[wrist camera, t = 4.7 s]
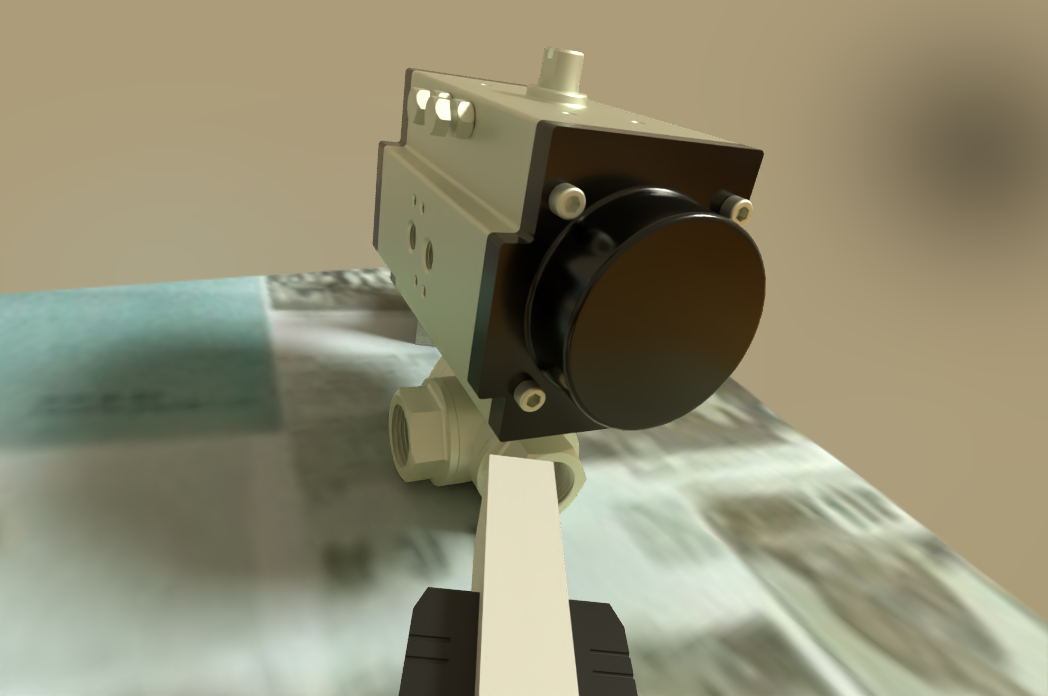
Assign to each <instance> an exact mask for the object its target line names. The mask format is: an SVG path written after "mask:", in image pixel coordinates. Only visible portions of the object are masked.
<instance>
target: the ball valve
mask: <svg viewBox="0 0 1048 696" xmlns="http://www.w3.org/2000/svg"><path fill="white" fill-rule="evenodd" d="M583 60H584V55H583V53H581V52H576V51H569V50H564V49H559V48H553V47H546V48H545V50H544V56H543V62H542V68H541V74H540V78H539V81H538V85H535V84H530V85H528V86H527V85H521V84H514V83H507V82H501V81H493V80H486V79H480V78H474V77H467V76H460V75H453V74H447V73H440V72H433V71H426V70H420V69H413V68H408V69H407V70H406V75H405V89H404V101H403V115H402V128H401V140H400V142H388V141H381V142H380V143H379V149H378V165H377V181H376V198H375V216H374V232H373V246H374V248H375V249H376V250H377V252H378V253H379V255H380V256H381V258H382V259H383V261H384V262H385V263H386V264H387V266H388V268H389V269H390V271H391V277H390V278H391V280H392V282H393V283H394V285H395V286H396V288H397V289H398V291H399V292H400V294H401V295H402V297H403V298H404V300H405V301H406V303H407V304H408V306H409V307H410V309H411V310H412V311H413V313H414V314H415V316H416V317H417V319H418V320H419V322H420V323H421V325H422V326H423V328H424V329H425V331H426V332H427V334H428V335H429V337H430V338H431V340H432V341H433V343H434V344H435V346H436V347H437V349H438V350H439V352H440V353H441V355H442V357H441V358H440V360H439V361H438V362H437V364H436V365H435V367H434V369H433V370H432V372H431V374H430V376H429V378H426V379H425V380H424V381H423V383H422V385H421V386H418V387H406V388H399V389H398V391H397V392H396V393H395V394H394V396H393V398H392V400H391V404H390V409H389V439H390V446H391V452H392V457H393V461H394V464H395V467H396V469H397V471H398V473H399V475H400V476H401V477H402V479H403V480H404V481H405V482H412V481H418V480H425V479H430V480H431V482H432V483H433V484H434V485H436V486H444V485H450V484H457V483H463V482H469V481H473V483H474V484H475V486H476V488H477V490H478V492H479V493H480V495H481V497H482V496H483V490H484V484H485V479H486V473H487V467H488V461H489V455H490V454H492V455H500V456H508V457H517V458H525V459H533V460H542V461H550V462H554V472H555V481H556V490H557V499H558V508H559V514H560V513H561V512H562V511H564V510H565V509H566V508H567V507H568V506H569V505H570V504H571V502H572V501H573V500H574V499H575V497H576V496H577V495H578V493H579V491H580V490H581V488H582V486H583V485H584V483H585V481H586V476H585V473H584V470H583V467H582V465H581V462H580V460H579V458H578V456H579V442H578V439H577V436H576V434H575V433H577V432H584V431H592V430H599V429H607V428H612V429H617V430H622V431H638V430H646V429H651V428H655V427H658V426H662V425H664V424H667V423H670V422H672V421H674V420H676V419H678V418H680V417H682V416H684V415H686V414H687V413H689V412H691V411H692V410H694V409H695V408H696V407H698V406H699V405H701V404H702V403H703V402H704V401H706V400H707V399H708V398H709V397H710V396H712V395H713V394H714V393H715V392H716V391H717V390H718V389H719V388H720V387H721V386H722V385H723V384H724V382H725V381H726V380H727V379H728V378H729V377H730V375H731V374H732V373H733V372H734V370H735V369H736V367H737V366H738V365H739V363H740V362H741V360H742V359H743V357H744V355H745V354H746V352H747V350H748V348H749V347H750V344H751V342H752V340H753V338H754V336H755V333H756V331H757V328H758V325H759V322H760V318H761V315H762V312H763V306H764V300H765V286H766V277H765V269H764V264H763V260H762V257H761V254H760V252H759V249H758V247H757V245H756V243H755V242H754V240H753V239H752V237H751V236H750V235H749V233H748V232H746V230H744V229H743V228H742V226H744V225H745V224H746V223H747V222H748V221H749V220H750V218H751V216H752V212H753V206H752V204H751V202H750V201H749V199H750V196H751V193H752V190H753V187H754V184H755V181H756V178H757V174H758V171H759V168H760V165H761V162H762V159H763V155H764V153H763V151H762V150H759V149H756V148H752V147H749V146H745V145H742V144H738V143H735V142H732V141H728V140H725V139H721V138H718V137H714V136H711V135H708V134H704V133H701V132H697V131H694V130H690V129H687V128H684V127H680V126H676V125H674V124H670V123H666V122H663V121H659V120H656V119H653V118H650V117H646V116H643V115H639V114H635V113H632V112H629V111H626V110H622V109H618V108H615V107H612V106H609V105H605V104H602V103H598V102H595V101H592V100H588V99H587V95H586V94H584V93H580V92H578V91H579V82H580V76H581V71H582V65H583Z"/></svg>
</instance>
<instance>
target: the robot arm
mask: <svg viewBox="0 0 1048 696" xmlns="http://www.w3.org/2000/svg"><path fill="white" fill-rule="evenodd" d="M399 696H638V695H637V690H636V685H635V680H634V679H633V670H632V664H631V659H630V658H629V649H628V644H627V639H626V634H625V629H624V626H623V625H622V623H621V621H620V620H619V618H618V617H617V615H616V613H615V612H614V610H613V609H612V607H611V606H610V604H608V603H598V602H588V601H578V600H568V591H567V582H566V573H565V563H564V554H563V545H562V536H561V527H560V517H559V508H558V499H557V490H556V481H555V472H554V462H550V461H542V460H533V459H525V458H517V457H508V456H500V455H492V454H490V455H489V461H488V467H487V473H486V479H485V484H484V490H483V496H482V502H481V508H480V514H479V520H478V526H477V532H476V538H475V543H474V559H473V574H472V589H471V591H462V590H452V589H442V588H432V587H428V588H427V589H426V591H425V592H424V593H423V595H422V596H421V598H420V599H419V601H418V602H417V604H416V605H415V606H414V608H413V613H412V619H411V625H410V631H409V638H408V643H407V649H406V655H405V661H404V667H403V673H402V679H401V685H400V691H399Z"/></svg>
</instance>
